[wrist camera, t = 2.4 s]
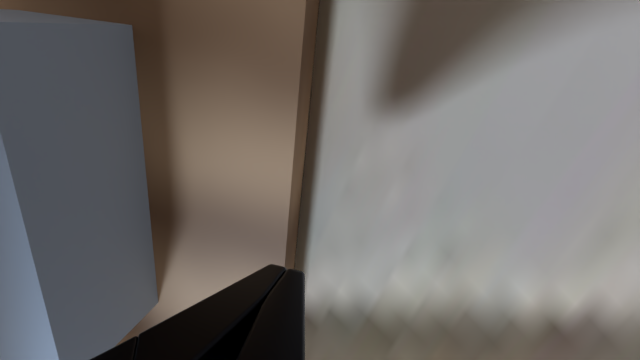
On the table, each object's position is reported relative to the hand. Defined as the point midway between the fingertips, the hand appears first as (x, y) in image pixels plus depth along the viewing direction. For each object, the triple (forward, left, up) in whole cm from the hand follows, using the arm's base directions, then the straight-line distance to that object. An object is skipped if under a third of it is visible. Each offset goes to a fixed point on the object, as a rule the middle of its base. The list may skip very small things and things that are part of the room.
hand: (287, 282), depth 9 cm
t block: (0, +11, -3) cm, 11 cm away
